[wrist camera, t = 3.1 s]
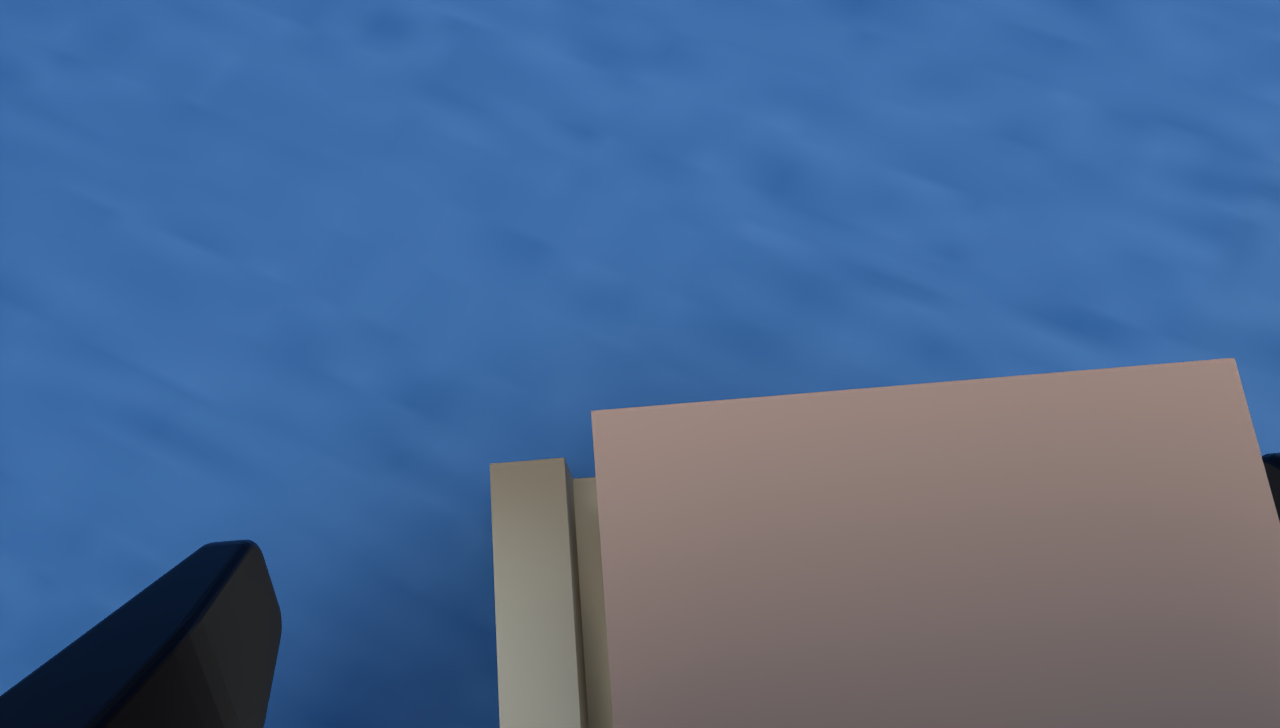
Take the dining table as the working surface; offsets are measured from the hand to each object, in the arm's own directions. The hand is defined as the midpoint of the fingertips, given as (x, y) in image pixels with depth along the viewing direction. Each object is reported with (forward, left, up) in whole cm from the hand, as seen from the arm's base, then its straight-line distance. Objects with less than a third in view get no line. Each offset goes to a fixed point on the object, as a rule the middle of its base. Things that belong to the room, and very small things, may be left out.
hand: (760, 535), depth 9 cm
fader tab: (-1, -1, -5) cm, 6 cm away
